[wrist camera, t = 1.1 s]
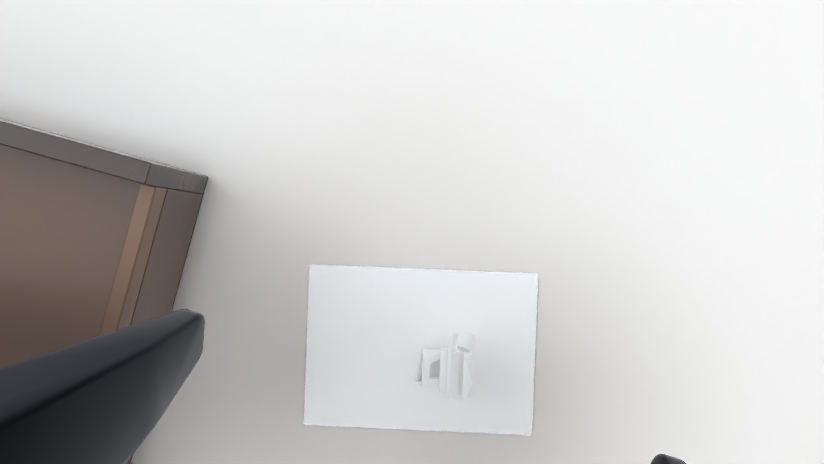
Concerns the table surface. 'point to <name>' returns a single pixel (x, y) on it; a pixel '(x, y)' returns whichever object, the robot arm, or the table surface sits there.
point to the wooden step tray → (85, 239)
